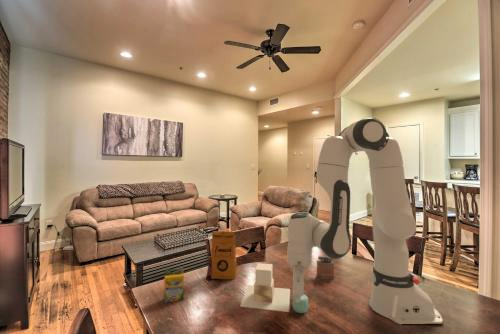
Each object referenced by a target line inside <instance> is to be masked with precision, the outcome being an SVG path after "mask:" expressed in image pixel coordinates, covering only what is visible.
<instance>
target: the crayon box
mask: <svg viewBox="0 0 500 334" xmlns="http://www.w3.org/2000/svg"><path fill="white" fill-rule="evenodd" d="M184 269H185V268H173V269H165V270H164V279H163V280H164V289H163V292H164V298H163V299H164V300H163V302H164V303H170V302H176V301H184V300H185V299H184V297H185V292H184V291H185V288H184V287H185V286H184V285H185V283H184V281H185V278H184V277H185V275H184V274H185V273H184ZM174 271H176V272H174Z"/></svg>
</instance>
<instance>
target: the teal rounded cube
mask: <svg viewBox="0 0 500 334" xmlns="http://www.w3.org/2000/svg"><path fill="white" fill-rule="evenodd" d="M292 310H293V311H294V312H296V313H299V314H305V313H307V312H308V311H309V297H308V296H307V295H306V294H303V296H301V298H300V303H296V302H295V295H293V294H292Z"/></svg>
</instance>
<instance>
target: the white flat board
mask: <svg viewBox="0 0 500 334" xmlns="http://www.w3.org/2000/svg"><path fill="white" fill-rule="evenodd" d="M290 297H291V289H290V288H284V287H283V288H282V287H274V295H273V301H272V303H269V302H260V301H254V284H253V285H252V284H248V285H247V287H246V291H245V292H244V295H243V297H242V300H241V302H240V304H239V305H240V306H239V307H243V308H251V309H258V310H269V311H277V312H286V313H289V312H290V301H291V299H290Z"/></svg>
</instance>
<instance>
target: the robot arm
mask: <svg viewBox="0 0 500 334" xmlns="http://www.w3.org/2000/svg"><path fill="white" fill-rule="evenodd" d="M356 152H364V153H365V154H366V156H367V158H368V166H369V167H368V168H369V177H370V185H371V191H372V195H373V199H374V204H375V205H374V206H373V207H372V209H371V223H372V224H371V225H372V237H373V238H372V239H373V246H374V247H373V248H374V252H373V253H374V257H373V261H374V262H373V263H374V266H372V273H371V274H372V275H371V276H372V292H371V296H370V298H369V301H368V305H369V306H370V308H371V309H372V311H374V312H376V313H377V314H379V315H381V316H383V317H385V318H387V319H389V320H392V321H393V322H394V323H396V324H398V325H402V324H420V323H442V322H444V319H443V317H442V315H441V313H440V312H439V311H438V310H437V309H436V308H435V307H434V303H433V301H432V299H431V297H430V296H429V295H428V294H427V293H426V292H425V291H424V290H423V289H421V288H420V287H419V285H420V284H421V280H420V279H419V278H418V277H417V276H414V274H413V273H411V272H409V271H410V269H409V266H410V265H409V262H410V261H409V260H410V258H409V257H410V252H409V248H408V245H407V240H408V239H410V238H412V237H413V236H414V235H415V233H416V231H417V222H416V220H415V217H414V214H413V210H412V204H411V201H410V197H409V194H408V191H407V186H406V179H405V168H404V160H403V155H402V151H401V148H400V145H399V143H398V141H397V140H396V139H395V138H393V137H391V136H390V135H389V133H388V132H387V129H386V126H385V125H384V123H383V122H382V121H381V120H380V119H377V118H374V117H366V118H362V119H359V120H357V121H354V122H352V123H351V124H350V125H348V126H347V127H345V128H344V129H342V130H341V132H340V133H339V134H338V135H334V136H332V135H331V136H328V137H327V138H325V140H324V141H323V144H322V145H321V148H320V153H319V155H318V161H317V167H316V181H317V183H318V184H319V185H320V187H321V188H322V189H323V190H324V191H325V192H326V193H327V195H328V197H329V200H330V213H329V222H326V221H324V220H322V219H319V218H316V217H315V216H313V215H312V214H311V213H309V212H307V211H299V212H295V213H293V214H292V215H291V216H290V217H289V220H288V227H287V228H288V229H287V239H288V243H287V248H286V252H287V253H286V262H287V263H288V264H289V266H290V268H292V269H293V272H292V296H293V295H295V302H296V303H300V298H301V296H303V294H304V293H305V270H307V269H308V267H309V266H311V265H312V257H313V256H312V255H313V248H315V247H316V248H318V249H320V251H321V252H323V253H324V254H325V256H327V257H330V258H332V259H333V260H338V259H341V258H344V257H345V256H347V254H348V253H349V252H350V250H351V247H352V238H351V231H350V217H351V216H350V214H351V188H350V185H349V178H348V177H349V167H350V159H351V157H352V155H353V153H356ZM304 295H305V294H304ZM438 317H440V318H438Z"/></svg>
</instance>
